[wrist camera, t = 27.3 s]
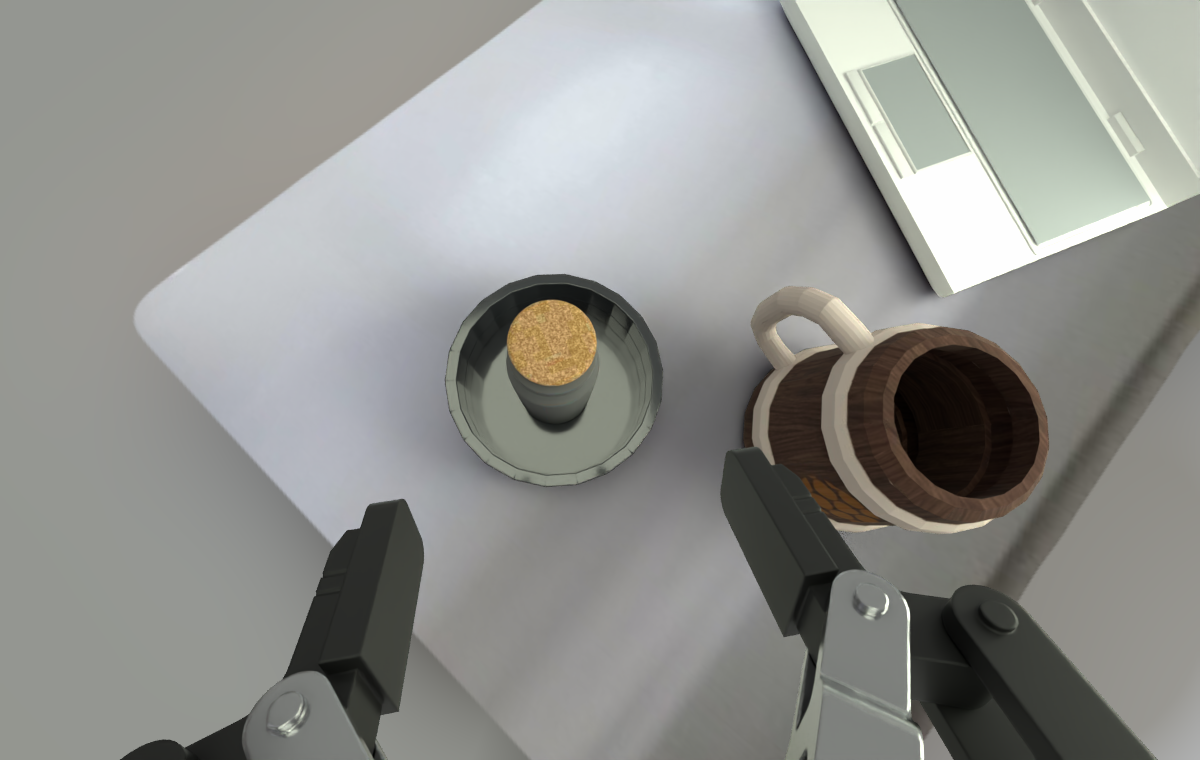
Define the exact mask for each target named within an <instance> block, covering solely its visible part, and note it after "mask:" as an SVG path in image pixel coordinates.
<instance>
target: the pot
mask: <svg viewBox="0 0 1200 760" xmlns="http://www.w3.org/2000/svg"><path fill="white" fill-rule="evenodd" d="M544 300H559V301H564V302H567V303H570V304H572V305H574V306H576V307H577V308H579V309H580V310H581V311H582V312H583V313H584V314H585V315H586V316H587V317H588V318H589V320H590V321H591V323H592V325H593V328H594V330H595V334H596V341H597V349H598V353H599V360H600V363H599V372H598V376H597V380H596V383H595V385H594V388H593V391H592V393H591V395H590V398H589V400H588V402H587V404H586V406H585V408H584V409H583V410H582V412H581V413H580V414H579V415H578V416H576V417H575V418H574V419H572V420H570V421H567V422H565V423H560V424H550V423H545V422H542V421H540V420H538V419H536V418H535V417H533V416H532V415H531V414H530V413H529V412H528V411H527V410H526V408H525V407H524V405H523V404H522V402H521V400H520V399H519V397H518V395H517V393H516V392H515V390H514V388H513V386H512V384H511V382H510V379H509V377H508V373H507V366H506V358H507V337H508V332H509V329H510V326H511V324H512V322H513V321H514V319H515V318H516V316H517V315H518V314H519V313H520V312H521V311H522V310H523V309H525V308H526V307H528V306H530V305H531V304H533V303H536V302H539V301H544ZM662 383H663V368H662V364H661V360H660V355H659V351H658V347H657V343H656V340H655V339H654V337H653V335H652V333H651V332H650V330H649V328H648V326H647V325H646V323H645V321H644V319H643V317H641V315H640V314H639V313H638V312H637V311H636V310H635V309H634V308H633V307H632V306H631V305H630V304H629V303H628V302H627V301H626V300H625V299H624V298H623V297H622V296H620V295H619V294H617V293H615V292H614V291H612V290H610V289H608V288H606V287H605V286H603V285H601V284H599V283H597V282H594V281H592V280H587V279H583V278H579V277H575V276H571V275H566V274H552V275H537V276H536V275H535V276H532V277H528V278H525V279H522V280H519V281H515V282H512V283H509V284H507V285H505V286H504V287H502V288H501V289H499V290H497V291H496V292H494V293H493V294H491V295H490V296H488V297H486V298H485V299H483V300H482V301H481V302H480V303H479V304H478V305H477V307H476V308H475V309H474V310H473V311H472V312H471V313H470V314H469V316H468V317H467V318H466V319H465V320H464V321H463V323H462V324H461V327H460V329H459V331H458V333H457V335H456V337H455V339H454V342H453V344H452V346H451V348H450V351H449V355H448V362H447V369H446V376H445V386H446V392H447V399H448V405H449V411H450V414H451V416H452V418H453V420H454V422H455V424H456V426H457V428H458V430H459V432H460V434H461V436H462V438H463V440H464V441H465V442H466V443H467V445H468V446H469V447H470V448H471V449H472V450H473V451H474V452H475V453H476V454H477V455H478V456H479V457H480V458H481V459H482V460H483V462H484V463H486V464H487V465H489V466H491V467H492V468H494V469H496V470H498V471H499V472H501V473H503V474H505V475H506V476H508V477H510V478H512V479H514V480H517V481H522V482H526V483H530V484H535V485H539V486H544V487H545V486H546V487H551V486H566V485H577V484H581V483H584V482H586V481H589V480H592V479H594V478H597V477H600V476H602V475H605V474H607V473H609V472H610V471H612V470H613V469H614V468H616V467H617V466H618V465H620V464H621V463H622V462H623V461H625V460H626V459H627V458H629V457H630V456H631V455H632V454H633V453H634V452H635V451H636V449H637V448H638V447H639V445H640V444H641V443H642V441H643V440H644V439H645V437H646V436H647V434H648V433H649V432H650V430H651V429H652V426H653V423H654V420H655V418H656V415H657V412H658V409H659V406H660V404H661V400H662Z"/></svg>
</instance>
